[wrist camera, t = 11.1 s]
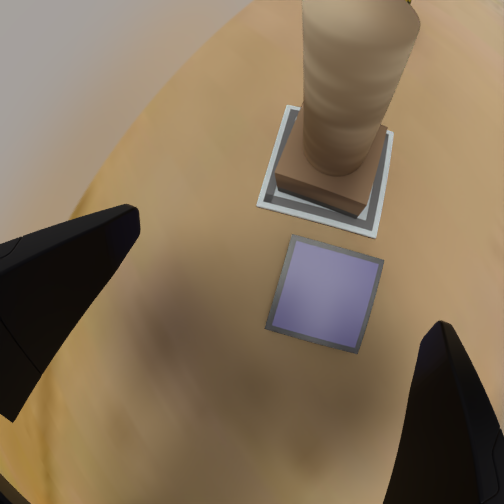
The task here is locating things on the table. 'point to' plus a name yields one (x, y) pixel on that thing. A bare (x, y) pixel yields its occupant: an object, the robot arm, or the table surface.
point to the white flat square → (316, 213)
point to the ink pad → (325, 294)
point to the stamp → (345, 99)
